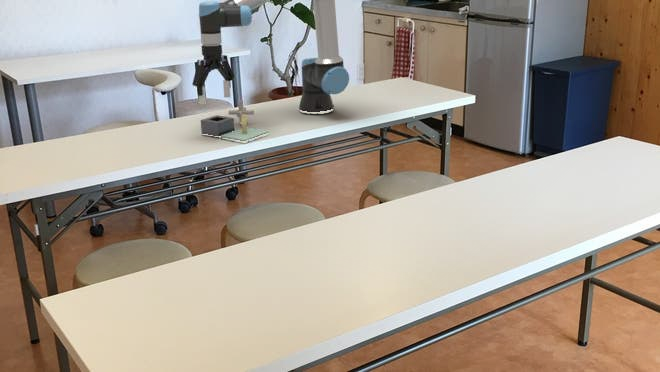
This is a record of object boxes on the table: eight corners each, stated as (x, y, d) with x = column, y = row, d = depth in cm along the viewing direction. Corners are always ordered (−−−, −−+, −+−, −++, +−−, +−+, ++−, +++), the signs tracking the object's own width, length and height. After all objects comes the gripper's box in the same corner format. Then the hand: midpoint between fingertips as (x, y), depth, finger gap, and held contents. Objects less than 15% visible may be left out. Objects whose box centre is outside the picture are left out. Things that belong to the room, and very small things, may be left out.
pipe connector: (256, 121, 292) (255, 97, 289) (251, 127, 283) (250, 103, 280) (232, 121, 293) (231, 97, 290) (227, 127, 284) (225, 103, 281)
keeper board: (245, 130, 279) (243, 108, 276) (268, 135, 272) (267, 112, 269) (220, 139, 268) (219, 116, 265) (244, 143, 261) (243, 120, 258)
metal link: (217, 129, 281) (216, 115, 279) (234, 133, 276) (233, 118, 274) (201, 135, 274) (200, 120, 272) (218, 138, 269) (217, 123, 267)
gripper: (226, 39, 275) (230, 93, 282) (179, 47, 256) (184, 105, 263) (241, 41, 271) (244, 95, 278) (194, 49, 252) (198, 107, 259)
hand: (215, 100), depth 270 cm, fingers open, 13 cm apart
